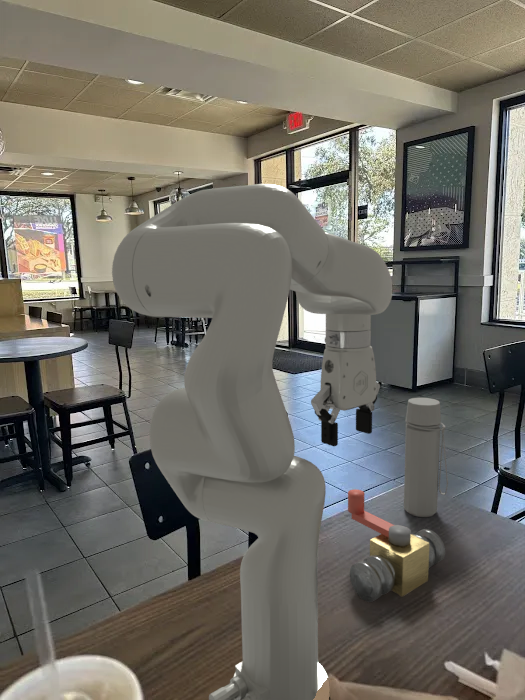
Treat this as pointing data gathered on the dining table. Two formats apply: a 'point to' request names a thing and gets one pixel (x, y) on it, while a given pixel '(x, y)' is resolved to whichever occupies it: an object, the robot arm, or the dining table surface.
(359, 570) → the valve
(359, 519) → the lever
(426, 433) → the water bottle
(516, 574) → the dining table surface
